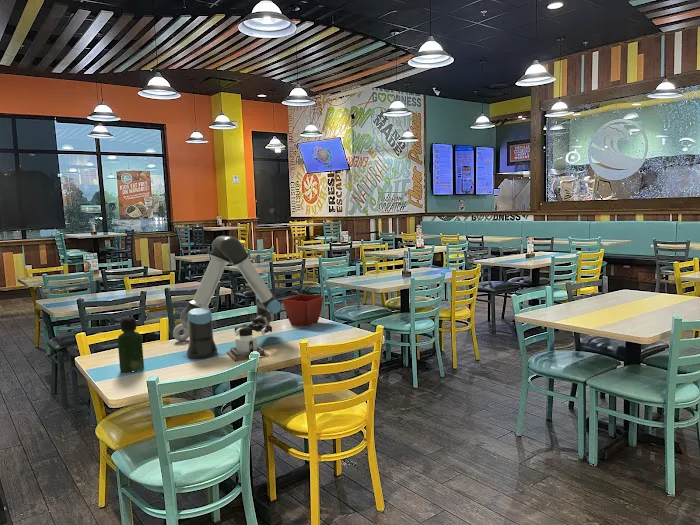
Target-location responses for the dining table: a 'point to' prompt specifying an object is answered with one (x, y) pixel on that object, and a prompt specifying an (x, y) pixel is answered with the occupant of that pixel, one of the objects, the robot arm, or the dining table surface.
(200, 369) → the dining table surface
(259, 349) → the plate
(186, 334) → the donut
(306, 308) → the plant pot
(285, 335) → the dining table surface
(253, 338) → the container
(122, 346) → the dark green bottle
